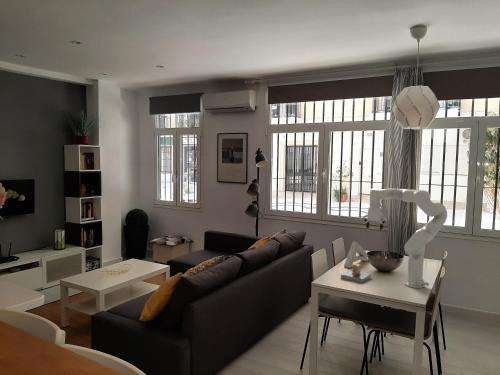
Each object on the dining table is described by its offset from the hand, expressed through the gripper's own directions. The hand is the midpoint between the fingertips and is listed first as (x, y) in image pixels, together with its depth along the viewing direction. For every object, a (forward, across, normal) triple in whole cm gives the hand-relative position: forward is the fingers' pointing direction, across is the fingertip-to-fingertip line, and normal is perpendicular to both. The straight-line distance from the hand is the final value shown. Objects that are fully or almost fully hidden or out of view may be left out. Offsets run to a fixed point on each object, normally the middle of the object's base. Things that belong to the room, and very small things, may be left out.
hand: (374, 228), depth 286 cm
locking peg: (+35, +8, +14) cm, 38 cm away
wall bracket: (+35, +21, -25) cm, 48 cm away
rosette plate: (+35, +8, +14) cm, 38 cm away
